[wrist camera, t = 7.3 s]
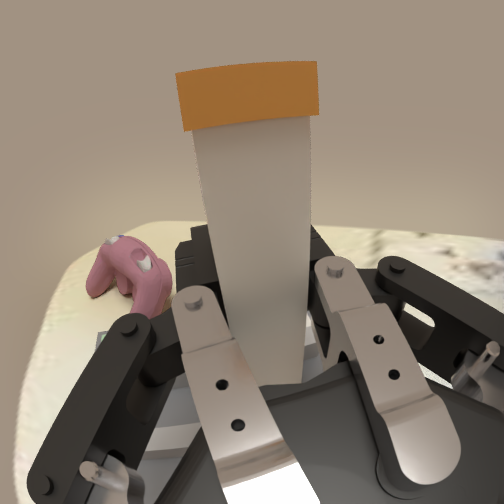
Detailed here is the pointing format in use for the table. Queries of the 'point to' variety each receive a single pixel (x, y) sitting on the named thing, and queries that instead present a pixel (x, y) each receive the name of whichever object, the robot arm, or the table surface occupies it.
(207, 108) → the breaker lever
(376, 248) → the table surface
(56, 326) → the table surface
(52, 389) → the table surface
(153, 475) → the breaker panel
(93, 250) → the table surface
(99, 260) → the video game controller
